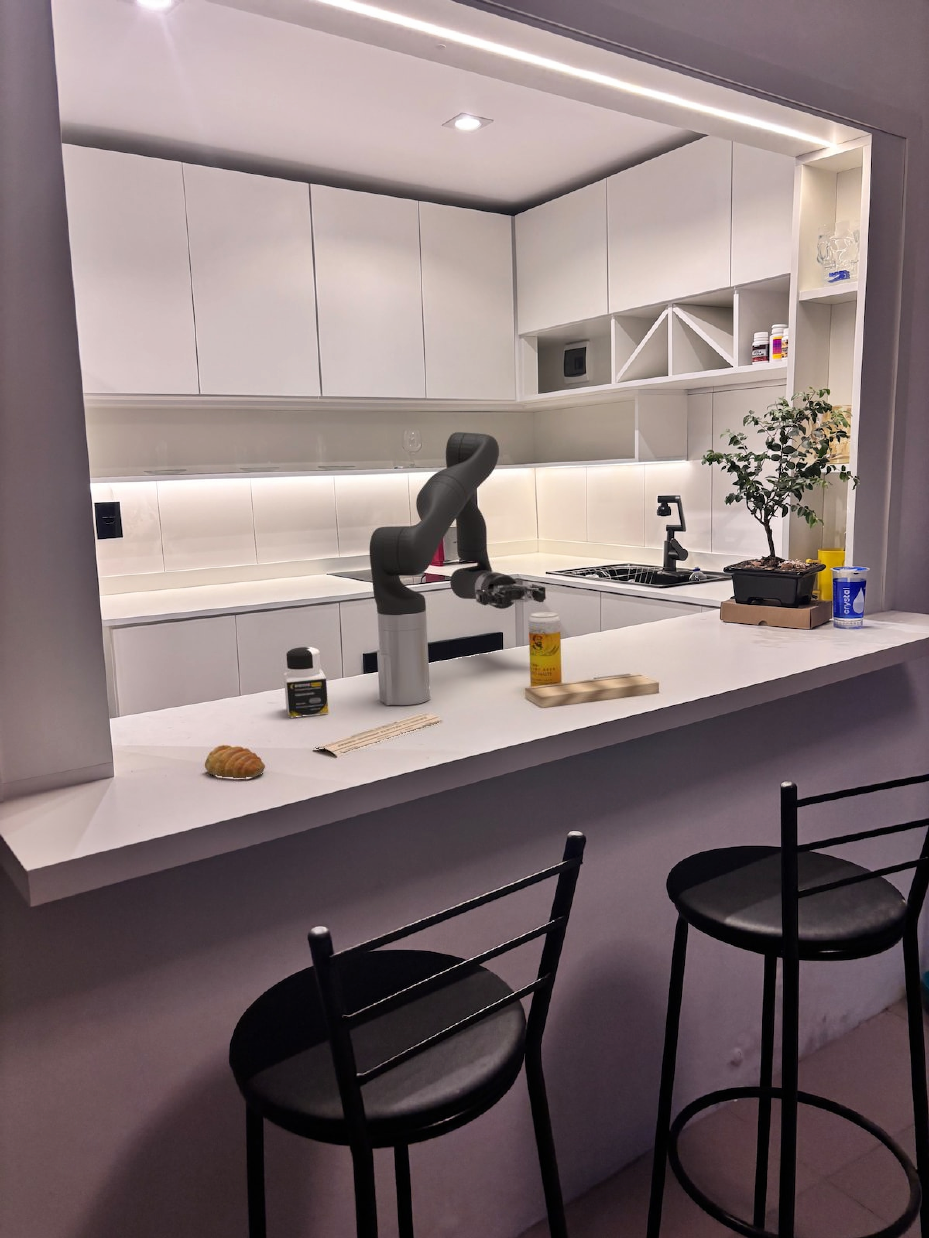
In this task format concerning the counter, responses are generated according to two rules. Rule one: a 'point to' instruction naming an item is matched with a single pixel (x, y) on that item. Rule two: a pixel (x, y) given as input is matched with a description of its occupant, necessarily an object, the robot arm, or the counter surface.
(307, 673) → the medicine bottle
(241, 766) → the pastry
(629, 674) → the pad
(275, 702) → the counter surface
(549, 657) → the beer can
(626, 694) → the board
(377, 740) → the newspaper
